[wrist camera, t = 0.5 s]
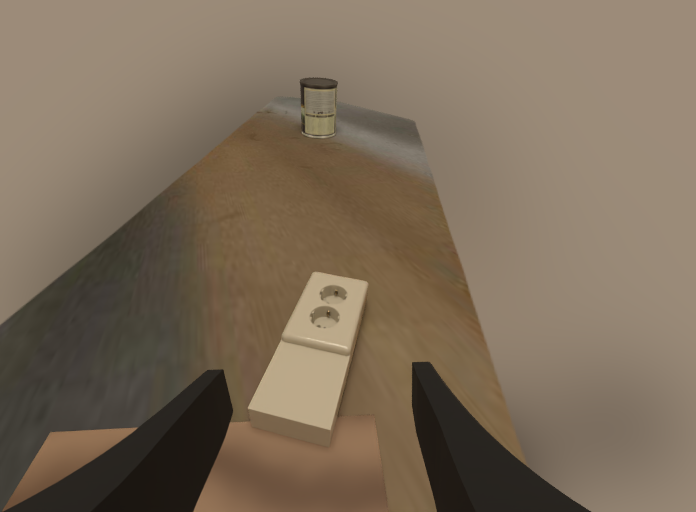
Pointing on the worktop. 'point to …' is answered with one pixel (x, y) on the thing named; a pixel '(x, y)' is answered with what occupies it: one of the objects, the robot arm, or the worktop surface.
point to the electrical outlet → (312, 361)
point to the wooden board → (248, 469)
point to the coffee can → (318, 107)
